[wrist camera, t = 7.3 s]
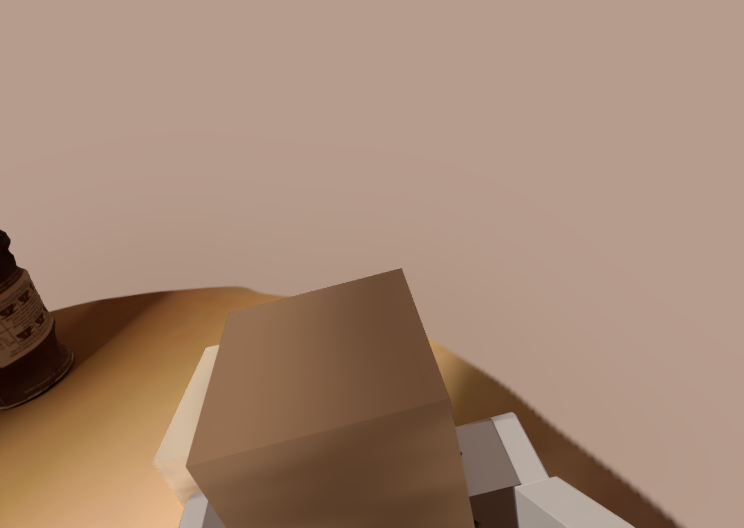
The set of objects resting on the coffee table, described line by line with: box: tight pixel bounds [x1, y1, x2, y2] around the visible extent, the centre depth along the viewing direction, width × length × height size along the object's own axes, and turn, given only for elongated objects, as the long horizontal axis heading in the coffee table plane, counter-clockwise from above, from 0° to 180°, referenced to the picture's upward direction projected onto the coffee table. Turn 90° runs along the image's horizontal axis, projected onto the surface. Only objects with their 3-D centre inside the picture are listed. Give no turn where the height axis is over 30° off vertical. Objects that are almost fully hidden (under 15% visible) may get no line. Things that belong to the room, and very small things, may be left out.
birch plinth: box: [152, 345, 219, 507], centre depth 24 cm, size 8×8×4 cm
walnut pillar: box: [185, 269, 475, 528], centre depth 11 cm, size 4×4×10 cm
